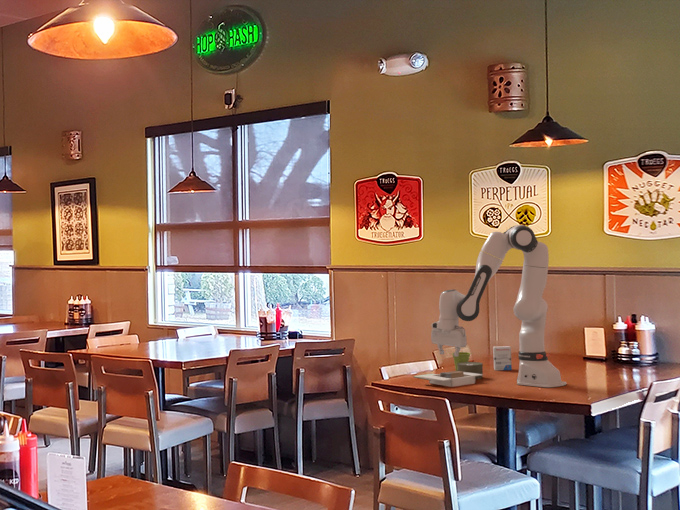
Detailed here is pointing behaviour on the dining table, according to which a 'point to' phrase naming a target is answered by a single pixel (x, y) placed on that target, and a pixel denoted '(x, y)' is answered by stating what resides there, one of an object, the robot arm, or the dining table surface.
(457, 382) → the grey tray
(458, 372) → the walnut box
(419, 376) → the sage mat
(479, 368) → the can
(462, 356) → the plant pot
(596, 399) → the dining table surface
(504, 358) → the ink box
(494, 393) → the dining table surface
